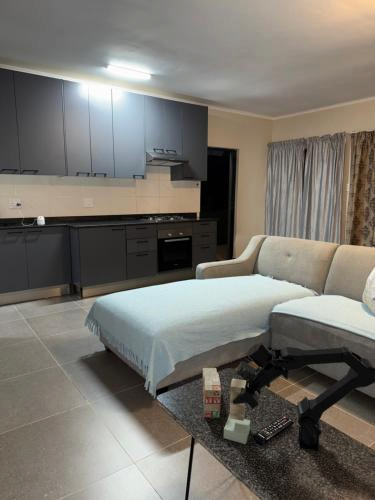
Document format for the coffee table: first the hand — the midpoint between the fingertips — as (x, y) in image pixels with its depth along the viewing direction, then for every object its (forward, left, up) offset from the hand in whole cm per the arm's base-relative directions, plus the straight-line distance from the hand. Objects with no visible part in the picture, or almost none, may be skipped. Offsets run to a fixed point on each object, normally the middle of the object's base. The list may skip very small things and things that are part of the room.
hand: (234, 398), depth 125 cm
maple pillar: (-2, 0, -7) cm, 7 cm away
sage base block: (-2, +1, -14) cm, 14 cm away
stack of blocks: (+12, -15, -14) cm, 23 cm away
